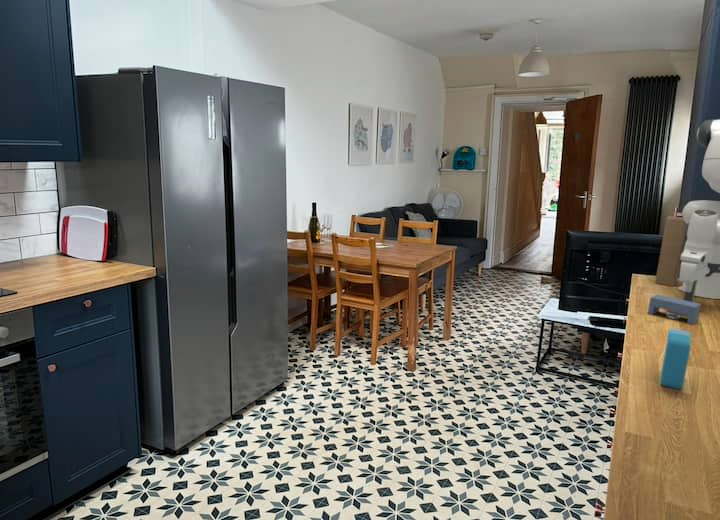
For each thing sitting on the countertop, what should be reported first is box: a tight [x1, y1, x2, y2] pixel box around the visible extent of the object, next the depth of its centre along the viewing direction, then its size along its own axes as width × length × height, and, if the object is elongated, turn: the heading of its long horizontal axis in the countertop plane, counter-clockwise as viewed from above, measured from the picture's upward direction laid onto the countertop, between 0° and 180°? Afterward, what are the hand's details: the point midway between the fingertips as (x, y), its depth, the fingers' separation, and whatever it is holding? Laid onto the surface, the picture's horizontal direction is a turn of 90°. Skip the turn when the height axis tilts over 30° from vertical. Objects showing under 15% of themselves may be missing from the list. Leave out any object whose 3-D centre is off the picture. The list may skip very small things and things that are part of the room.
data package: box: [660, 328, 692, 390], centre depth 129 cm, size 12×4×12 cm, turn 149°
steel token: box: [665, 313, 680, 320], centre depth 184 cm, size 4×4×1 cm
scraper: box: [666, 280, 697, 317], centre depth 191 cm, size 12×7×13 cm, turn 133°
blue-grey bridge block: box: [647, 294, 702, 325], centre depth 183 cm, size 7×14×6 cm, turn 43°
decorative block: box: [654, 215, 687, 287], centre depth 234 cm, size 8×15×30 cm, turn 144°
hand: (690, 291), depth 194 cm, fingers closed on scraper, 2 cm apart
